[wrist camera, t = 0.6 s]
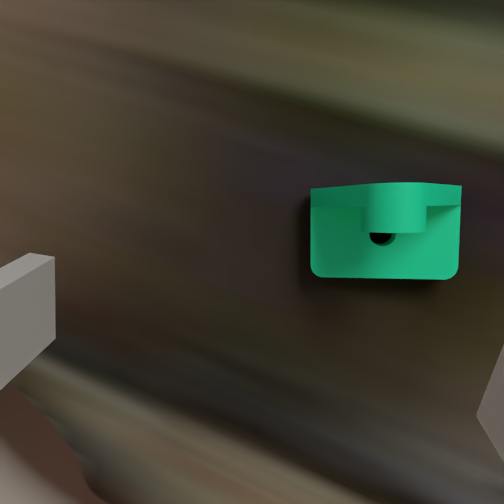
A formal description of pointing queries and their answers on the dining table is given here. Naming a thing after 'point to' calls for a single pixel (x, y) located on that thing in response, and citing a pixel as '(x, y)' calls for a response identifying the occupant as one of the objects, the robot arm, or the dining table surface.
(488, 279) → the dining table surface
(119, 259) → the dining table surface
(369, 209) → the camera mount
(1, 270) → the robot arm
